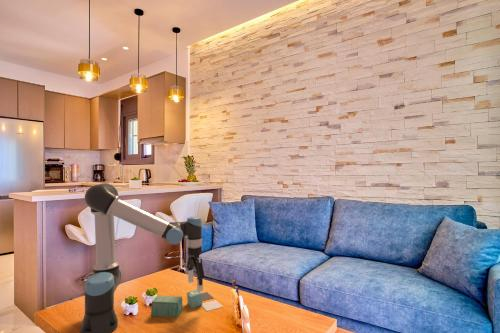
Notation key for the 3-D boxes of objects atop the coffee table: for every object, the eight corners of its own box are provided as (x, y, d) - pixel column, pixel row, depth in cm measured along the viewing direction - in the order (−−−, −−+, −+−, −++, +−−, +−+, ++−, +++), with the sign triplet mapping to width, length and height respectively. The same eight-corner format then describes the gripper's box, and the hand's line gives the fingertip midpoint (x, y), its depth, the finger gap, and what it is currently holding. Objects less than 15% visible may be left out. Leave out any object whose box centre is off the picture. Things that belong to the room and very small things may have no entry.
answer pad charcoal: (198, 302, 157) (198, 301, 157) (192, 296, 165) (192, 295, 165) (213, 298, 162) (213, 297, 162) (207, 292, 169) (207, 292, 169)
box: (178, 317, 141) (178, 302, 141) (150, 317, 142) (150, 301, 142) (182, 310, 149) (182, 295, 149) (156, 309, 149) (156, 295, 149)
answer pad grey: (206, 311, 147) (206, 310, 147) (200, 304, 154) (200, 303, 154) (222, 307, 151) (222, 306, 151) (215, 300, 159) (215, 299, 159)
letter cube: (191, 308, 150) (190, 296, 150) (187, 303, 156) (186, 292, 155) (202, 304, 154) (201, 292, 153) (198, 300, 159) (197, 288, 159)
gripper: (210, 250, 146) (211, 293, 146) (193, 240, 167) (193, 277, 167) (196, 253, 142) (197, 296, 142) (180, 242, 164) (181, 280, 163)
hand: (195, 286), depth 155 cm, fingers open, 13 cm apart
